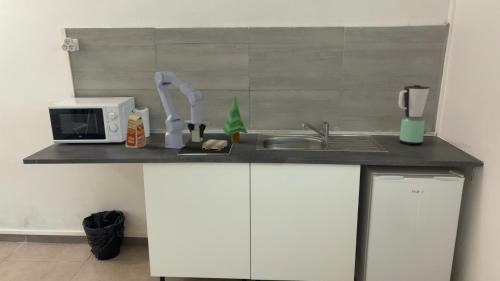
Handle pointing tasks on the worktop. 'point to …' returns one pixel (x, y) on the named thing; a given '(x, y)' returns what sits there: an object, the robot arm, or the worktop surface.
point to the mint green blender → (413, 114)
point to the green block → (196, 135)
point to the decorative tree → (234, 123)
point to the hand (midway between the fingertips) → (197, 137)
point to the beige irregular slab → (215, 144)
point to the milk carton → (135, 132)
